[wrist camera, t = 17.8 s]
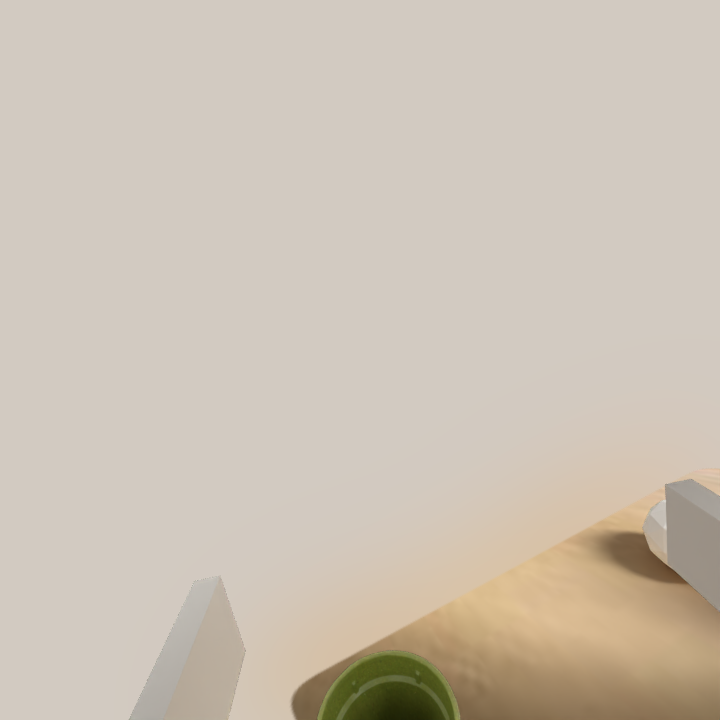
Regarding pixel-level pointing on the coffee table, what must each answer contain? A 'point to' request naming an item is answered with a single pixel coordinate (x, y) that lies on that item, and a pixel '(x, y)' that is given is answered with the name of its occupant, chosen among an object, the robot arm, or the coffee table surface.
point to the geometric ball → (657, 531)
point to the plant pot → (390, 690)
